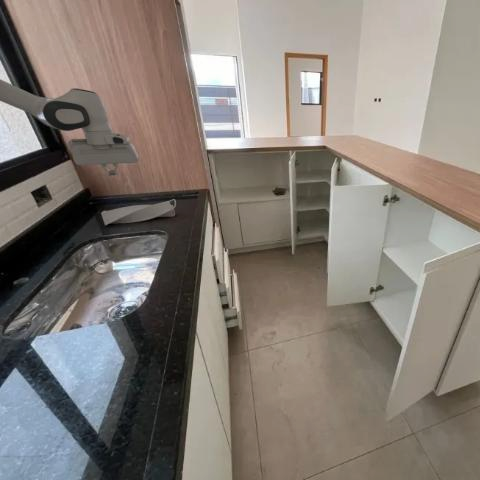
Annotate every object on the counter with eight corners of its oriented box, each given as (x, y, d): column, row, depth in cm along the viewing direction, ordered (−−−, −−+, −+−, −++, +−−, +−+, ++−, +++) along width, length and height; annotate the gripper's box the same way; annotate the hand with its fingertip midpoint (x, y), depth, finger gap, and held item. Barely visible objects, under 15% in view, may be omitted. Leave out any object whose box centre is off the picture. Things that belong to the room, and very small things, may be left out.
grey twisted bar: (98, 209, 107) (175, 199, 119) (103, 207, 114) (175, 197, 125) (105, 228, 110) (179, 216, 122) (109, 224, 116) (179, 214, 128)
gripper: (62, 140, 93) (78, 179, 99) (130, 139, 100) (141, 175, 107) (68, 138, 98) (83, 175, 104) (133, 136, 105) (143, 171, 112)
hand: (113, 175), depth 106 cm, fingers closed
